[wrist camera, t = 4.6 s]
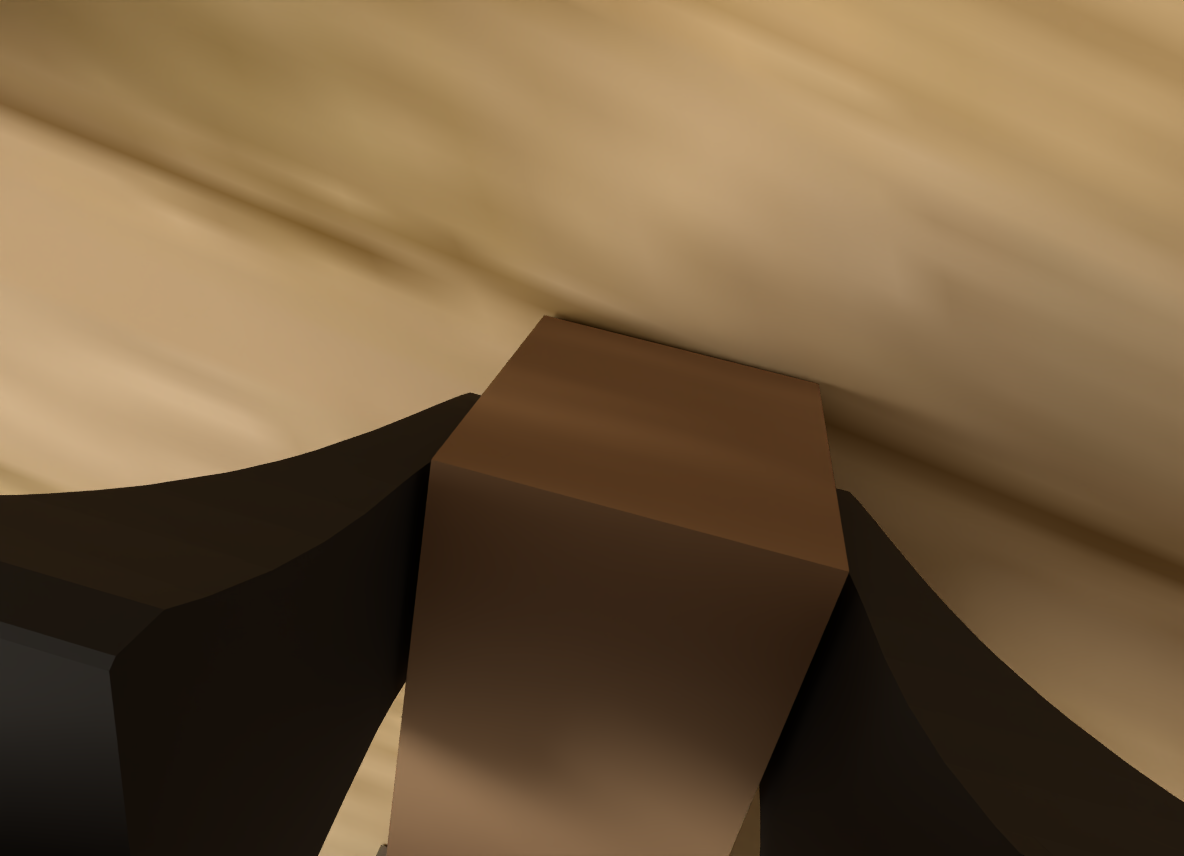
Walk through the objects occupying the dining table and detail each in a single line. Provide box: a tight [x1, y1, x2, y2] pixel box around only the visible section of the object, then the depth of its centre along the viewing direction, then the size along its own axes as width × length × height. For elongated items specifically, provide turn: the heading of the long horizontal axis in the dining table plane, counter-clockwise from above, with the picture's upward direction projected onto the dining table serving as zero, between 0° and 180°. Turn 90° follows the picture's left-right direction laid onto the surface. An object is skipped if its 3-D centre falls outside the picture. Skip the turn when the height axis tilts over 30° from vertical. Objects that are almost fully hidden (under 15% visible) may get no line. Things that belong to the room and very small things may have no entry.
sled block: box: [386, 315, 849, 856], centre depth 13 cm, size 14×4×4 cm, turn 169°
